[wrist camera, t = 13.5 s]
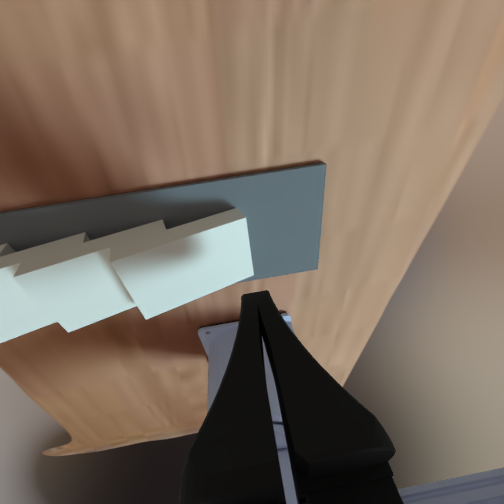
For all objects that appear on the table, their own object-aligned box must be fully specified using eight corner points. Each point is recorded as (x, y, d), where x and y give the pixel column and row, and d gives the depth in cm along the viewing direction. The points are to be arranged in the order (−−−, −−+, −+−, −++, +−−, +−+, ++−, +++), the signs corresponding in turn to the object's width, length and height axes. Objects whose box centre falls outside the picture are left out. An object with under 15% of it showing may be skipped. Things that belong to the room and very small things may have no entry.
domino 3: (245, 217, 15) (110, 262, 12) (253, 275, 18) (145, 319, 15) (236, 207, 16) (110, 247, 14) (245, 263, 19) (143, 303, 17)
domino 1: (82, 243, 14) (-89, 295, 12) (119, 298, 17) (-12, 347, 15) (85, 232, 15) (-71, 277, 13) (119, 284, 19) (-3, 329, 16)
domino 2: (166, 229, 14) (12, 277, 12) (187, 286, 18) (68, 332, 15) (162, 219, 16) (22, 260, 13) (183, 273, 19) (71, 315, 16)
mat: (324, 162, 15) (326, 164, 15) (316, 266, 21) (317, 269, 20) (-108, 229, 14) (-115, 232, 14) (4, 319, 20) (0, 323, 19)
